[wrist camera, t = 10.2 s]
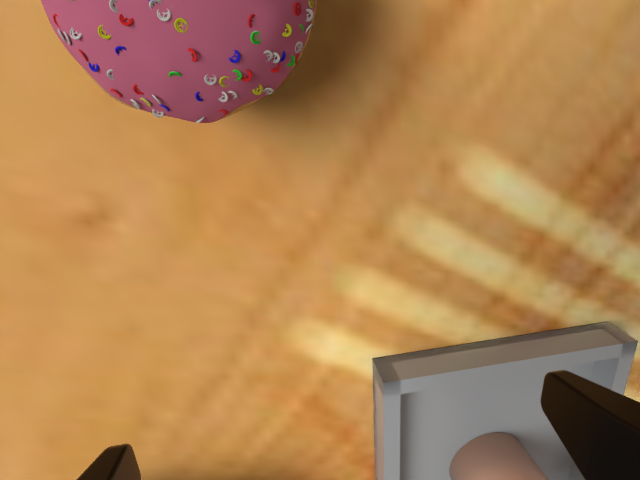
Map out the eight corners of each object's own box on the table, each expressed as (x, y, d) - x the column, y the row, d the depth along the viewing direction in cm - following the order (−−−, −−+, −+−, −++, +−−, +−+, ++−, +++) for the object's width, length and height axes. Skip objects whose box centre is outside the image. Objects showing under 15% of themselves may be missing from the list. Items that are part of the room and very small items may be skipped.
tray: (607, 321, 26) (637, 341, 24) (561, 525, 33) (581, 553, 31) (372, 358, 24) (383, 383, 22) (377, 565, 31) (385, 598, 29)
